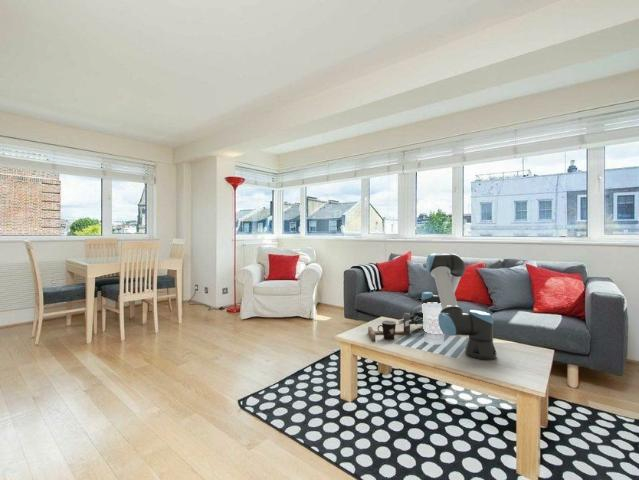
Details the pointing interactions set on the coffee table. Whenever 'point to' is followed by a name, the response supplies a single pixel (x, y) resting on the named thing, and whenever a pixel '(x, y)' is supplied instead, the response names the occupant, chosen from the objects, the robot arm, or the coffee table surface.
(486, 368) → the coffee table surface
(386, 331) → the coffee mug
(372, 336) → the brown uneven shapes
